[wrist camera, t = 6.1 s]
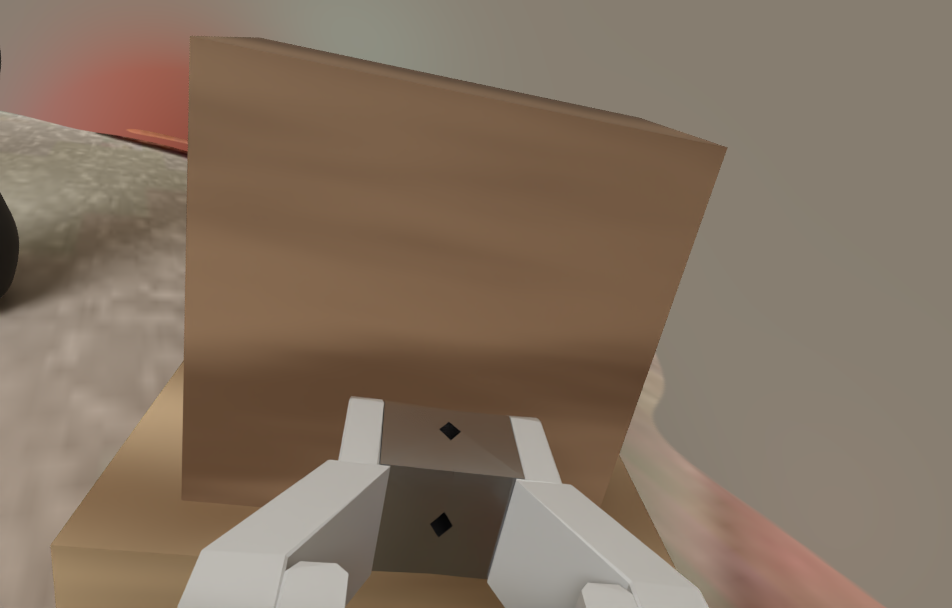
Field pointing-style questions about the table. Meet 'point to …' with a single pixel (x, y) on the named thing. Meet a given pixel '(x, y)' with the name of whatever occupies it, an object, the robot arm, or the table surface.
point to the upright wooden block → (416, 260)
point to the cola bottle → (7, 245)
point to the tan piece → (199, 524)
